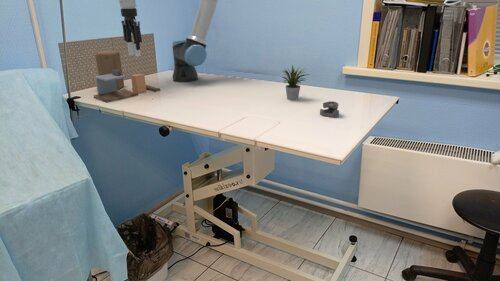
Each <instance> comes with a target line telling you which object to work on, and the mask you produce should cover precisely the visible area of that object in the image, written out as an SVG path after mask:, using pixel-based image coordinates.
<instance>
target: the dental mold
mask: <svg viewBox="0 0 500 281" xmlns="http://www.w3.org/2000/svg"><path fill="white" fill-rule="evenodd" d="M322 107H323V108H324V109H322V108H320V110H319V111H320V112H319V115H320V116H321V117H325V118H331V119H338V118H339V115H340V111H339V109H338V108H339V103H338V102H337V101H331V100H329V101H326V102H323V103H322Z"/></svg>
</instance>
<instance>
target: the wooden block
mask: <svg viewBox="0 0 500 281" xmlns="http://www.w3.org/2000/svg"><path fill="white" fill-rule="evenodd" d="M94 56H95V62H96V67H97V69H96V70H97V73H98V75H97V76H100V75H106V74H112V70H113V69H115V70H119V71H120V73H121V75H122V76H124V74H123V69H122V68H123V67H122V61H121V60H122V59H121V54H120V51H119V50H102V51H99V52H96V53H95V55H94ZM116 84H117V90H121V89H123V88H124V87H125V81H124V78H122V79H117V80H116Z"/></svg>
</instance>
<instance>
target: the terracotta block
mask: <svg viewBox="0 0 500 281" xmlns="http://www.w3.org/2000/svg"><path fill="white" fill-rule="evenodd" d="M145 76H146V75H145V74H143V73H133V74H131V75H130V80H131V86H132V87H131V88H132V92H136V93H138V94H140V93H145V92H147V89H146V85H147V84H146V78H145Z"/></svg>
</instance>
